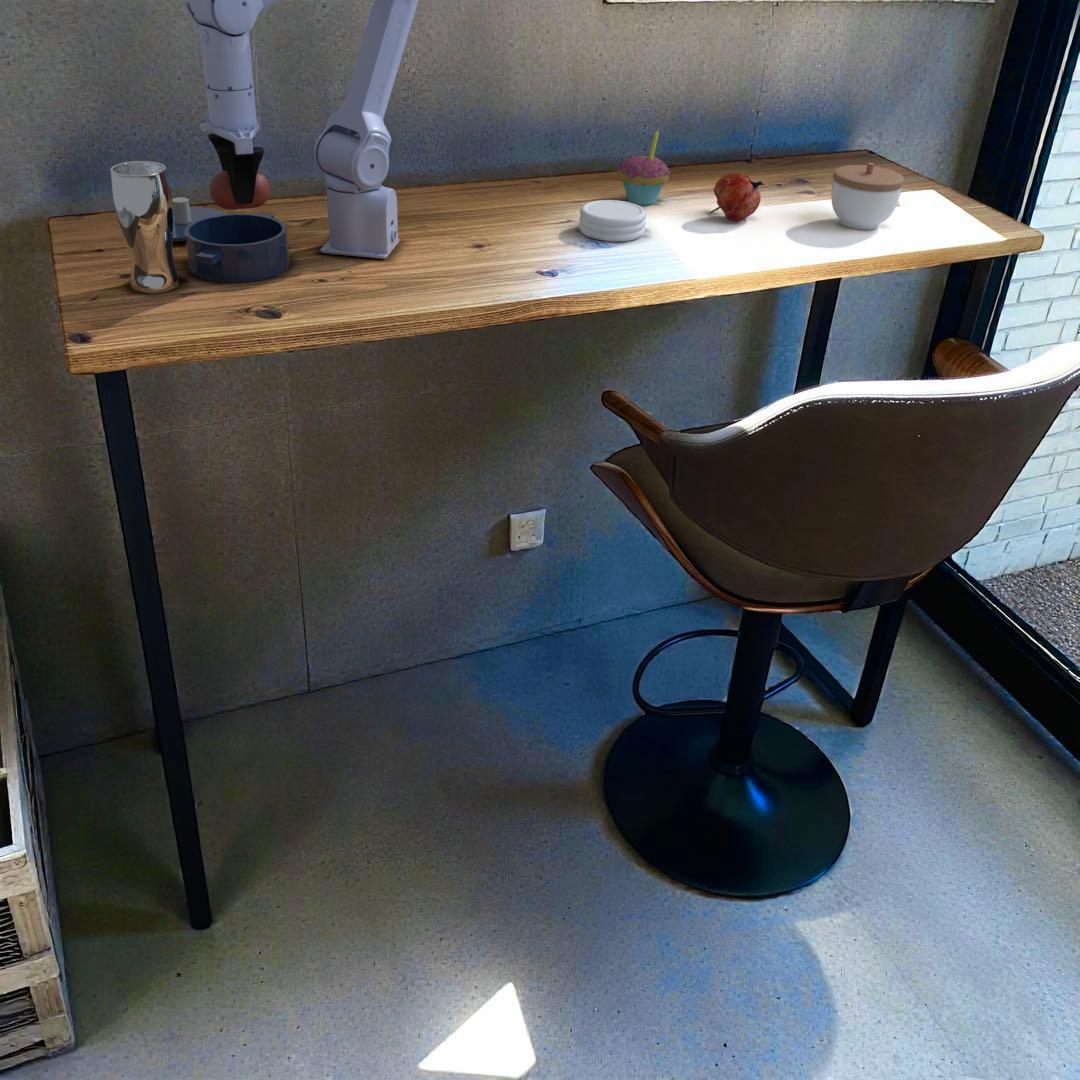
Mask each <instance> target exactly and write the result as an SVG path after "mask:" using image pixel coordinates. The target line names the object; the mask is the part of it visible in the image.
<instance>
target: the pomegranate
mask: <svg viewBox="0 0 1080 1080" xmlns="http://www.w3.org/2000/svg"><path fill="white" fill-rule="evenodd" d="M765 185H766V184H765V183H764V182H763V181H761V180H760V181H755V182H754V180H753V179H752V178H751V177H750V176H749V175H746V174H742V173H740V172H730V173H728V174H724V175H723V176H722V177H720V178H719V179H718V180H717V182H716V183H715V185H714V187H713V194H714V195H715V197H716V204H717V207H716V208H714V209H712V210H711V211H709V214H712V213H714V212H716V211H718V210H721V211H722V212H723V214H724V215H725V217H726V219H728V220H730V221H734V222H739V221H742V220H745V219H746V218H748V217H750V216H751V215H753V214H754V213H755V212H756V211H757V209H758V208H759V206H760V204H761V199H762V197H761V196H762V195H761V193H760V191H759V187H760V186H765Z"/></svg>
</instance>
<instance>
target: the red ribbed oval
mask: <svg viewBox="0 0 1080 1080" xmlns="http://www.w3.org/2000/svg"><path fill="white" fill-rule="evenodd" d="M208 190H209V195H210V197H211V199H212V201H213V202H214V203H215V205H216V206H218V207H220V208H221V209H224V210H245V209H246V210H247V209H255V208H259V207H261V206H264V204H265V203H267V202H268V199H269V197H270V195H271V185H270V183H269V179H268V178H267V176H265V175H264V174H263V173H262V172H261V171H259V170H258V172H257V177H256V185H255V195H254V201H253V203H251V204H237V203H236V201H235V199H234V196H233V193H232V189H231V185H230V181H229V177H228V174H227V171H223V170H221V171H219V172H217V173H216V174H214V176H213V177H212V178H211V180H210V183H209V189H208Z"/></svg>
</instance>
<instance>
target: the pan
mask: <svg viewBox="0 0 1080 1080" xmlns="http://www.w3.org/2000/svg"><path fill="white" fill-rule="evenodd" d="M184 235H185V241H184V242H185V243H184V244H185V249H186V258H187V264H188V268H189V272H191V273H192V274H193V275H194V276H196V277H198V278H201V279H203V280H207V281H211V282H218V283H230V284H233V283H234V284H238V283H239V284H240V283H241V284H242V283H252V282H259V281H264V280H267V279H271V278H274V277H277V276H279V275H281V274H283V273H284V272H285V271H286V270H288V269H289V266H290V252H289V251H290V250H289V238H288V228H287V226H286V224H285V223H284V222H283V221H281V220H279V219H278V218H275V214H269V213H261V212H258V213H227V214H223V215H216V216H211V217H206V218H203V219H200V220H197V221H194V222H192V223H191V224H189V225H187V227H186V229H185V230H184Z"/></svg>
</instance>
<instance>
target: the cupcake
mask: <svg viewBox="0 0 1080 1080" xmlns="http://www.w3.org/2000/svg"><path fill="white" fill-rule="evenodd" d="M659 131H660V127H657V130H656V131H655V132H654V135H653V138H652V142H651V147H650V151H649V155H644V154H643V155H640V154H638V155H633V156H629V157H626V159H623V160H622V161H621V162H620V163H619V165H618V166H617V167H618V169H617V171H616V178H617V179H618V180H620V181H621V182H622V185H623V187H624V188H623V189H624V192H625V197H626V200H627V202H629V203H633V204H636V205H638V206H640V205H641V206H642V205H643V206H649V205H653V204H655V203H656V202H657V200H658V197H659V195H660V192H661V190H662V188H663V186H664V184H666V183H667V182H669V180H670V176H671V173H672V172H671V170H670V168H669V166H668V165H667V164H666V163H665V162H664V161H663V160H661V158H658V157H656V156H655V151H656V147H657V142H658V139H659V134H660V132H659Z"/></svg>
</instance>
